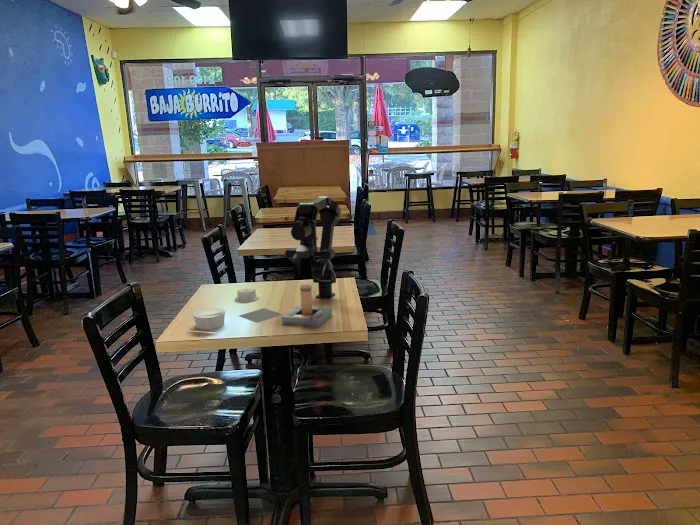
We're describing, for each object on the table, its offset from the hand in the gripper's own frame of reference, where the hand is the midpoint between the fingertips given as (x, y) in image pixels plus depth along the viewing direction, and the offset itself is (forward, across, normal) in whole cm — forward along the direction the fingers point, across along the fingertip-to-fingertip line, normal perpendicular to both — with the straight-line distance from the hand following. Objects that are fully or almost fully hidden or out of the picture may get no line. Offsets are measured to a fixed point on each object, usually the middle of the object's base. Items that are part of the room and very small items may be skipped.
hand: (310, 275), depth 208 cm
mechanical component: (+14, -31, +4) cm, 34 cm away
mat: (+13, -15, -15) cm, 25 cm away
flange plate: (+13, +4, -15) cm, 20 cm away
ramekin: (+13, -28, -29) cm, 42 cm away
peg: (+13, +4, -15) cm, 20 cm away
